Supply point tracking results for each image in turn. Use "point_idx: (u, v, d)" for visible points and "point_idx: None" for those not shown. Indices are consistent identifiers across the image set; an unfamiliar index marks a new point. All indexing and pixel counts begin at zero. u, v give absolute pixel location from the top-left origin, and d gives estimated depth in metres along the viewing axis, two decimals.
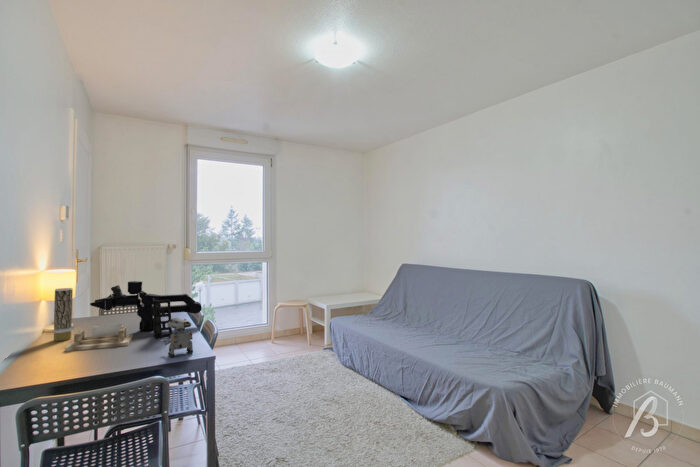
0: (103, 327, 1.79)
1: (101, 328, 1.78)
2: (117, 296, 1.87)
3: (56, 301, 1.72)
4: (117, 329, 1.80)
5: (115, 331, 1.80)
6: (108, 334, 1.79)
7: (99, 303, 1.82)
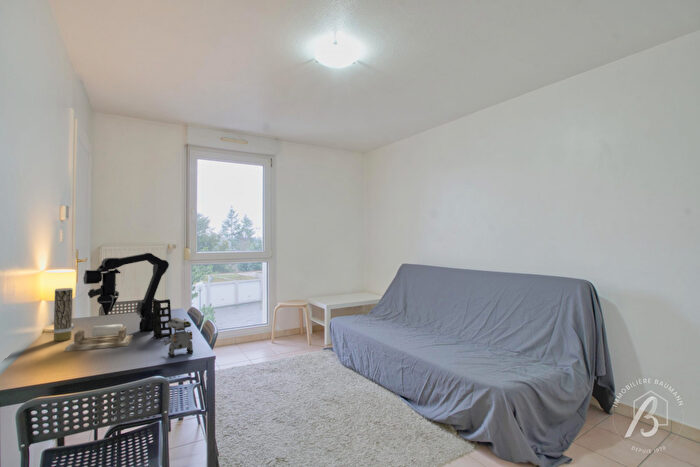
0: (103, 327, 1.79)
1: (101, 328, 1.78)
2: (100, 291, 1.78)
3: (56, 301, 1.72)
4: (117, 328, 1.81)
5: (115, 331, 1.80)
6: (108, 334, 1.79)
7: (105, 307, 1.76)
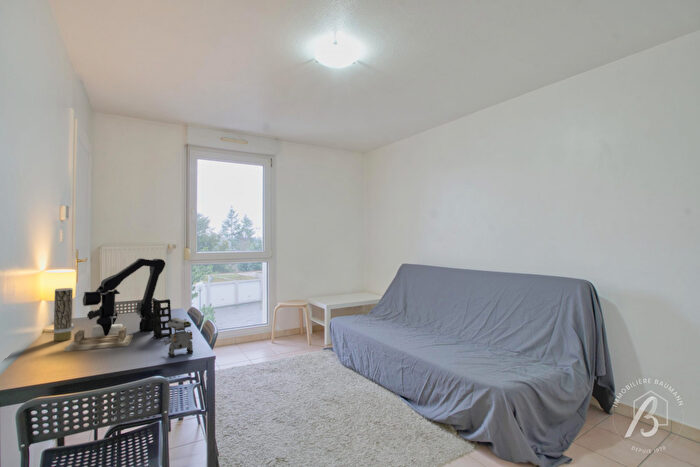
0: None
1: (101, 328, 1.78)
2: (99, 313, 1.77)
3: (56, 301, 1.72)
4: (117, 328, 1.80)
5: (115, 331, 1.80)
6: (108, 334, 1.79)
7: (105, 328, 1.77)
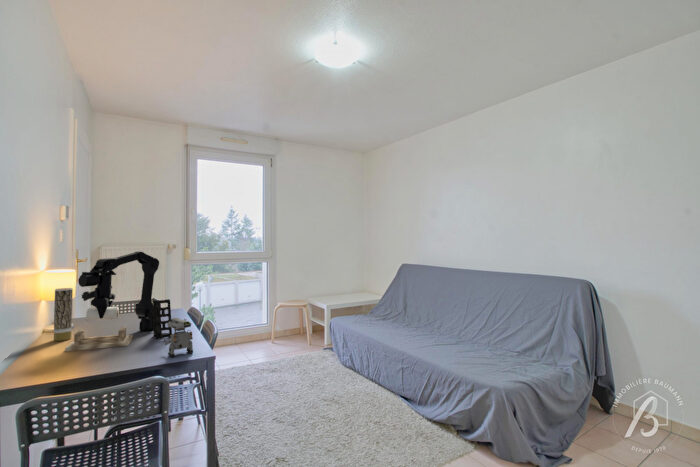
0: None
1: (96, 310, 1.70)
2: (95, 294, 1.69)
3: (56, 301, 1.72)
4: (112, 311, 1.72)
5: (111, 314, 1.71)
6: (103, 316, 1.70)
7: (100, 310, 1.69)
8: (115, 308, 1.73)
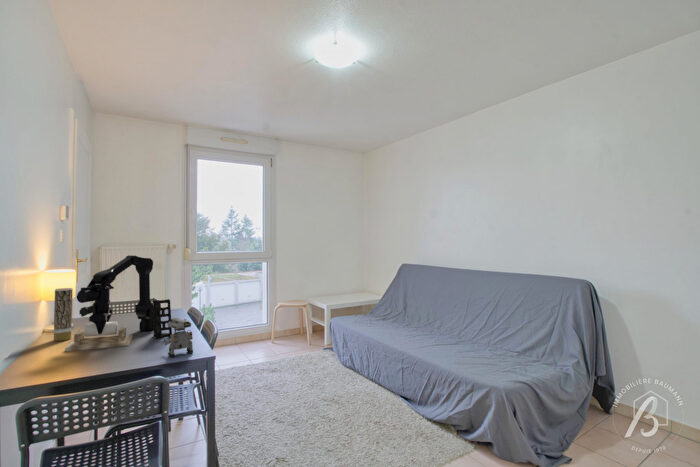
0: None
1: (94, 325, 1.66)
2: (93, 309, 1.65)
3: (56, 301, 1.72)
4: (111, 326, 1.68)
5: (110, 329, 1.67)
6: (102, 332, 1.66)
7: (99, 325, 1.65)
8: (114, 323, 1.69)
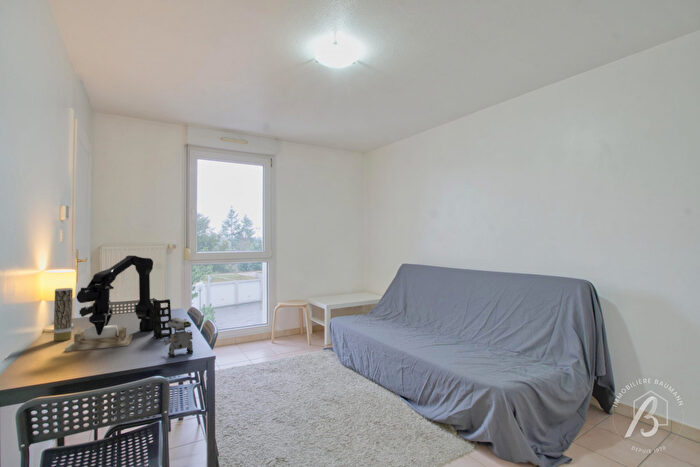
0: None
1: (94, 329, 1.66)
2: (93, 309, 1.65)
3: (56, 301, 1.72)
4: (111, 330, 1.68)
5: (110, 333, 1.67)
6: (102, 336, 1.66)
7: (98, 326, 1.63)
8: (114, 327, 1.69)
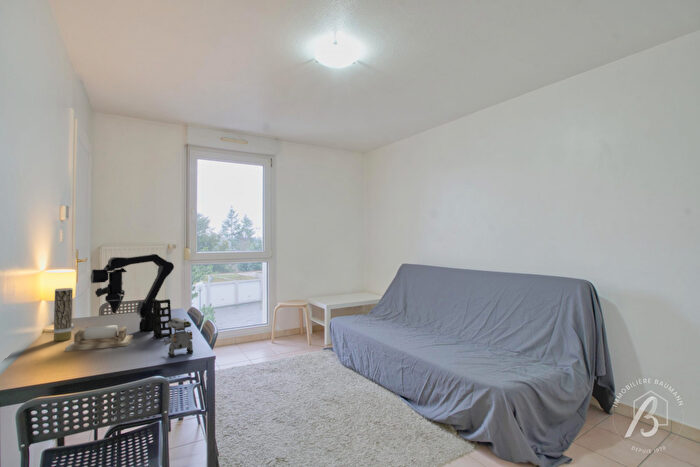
0: (96, 328, 1.66)
1: (94, 329, 1.66)
2: (107, 290, 1.80)
3: (56, 301, 1.72)
4: (111, 330, 1.68)
5: (110, 333, 1.67)
6: (102, 336, 1.66)
7: (113, 305, 1.79)
8: (114, 327, 1.69)
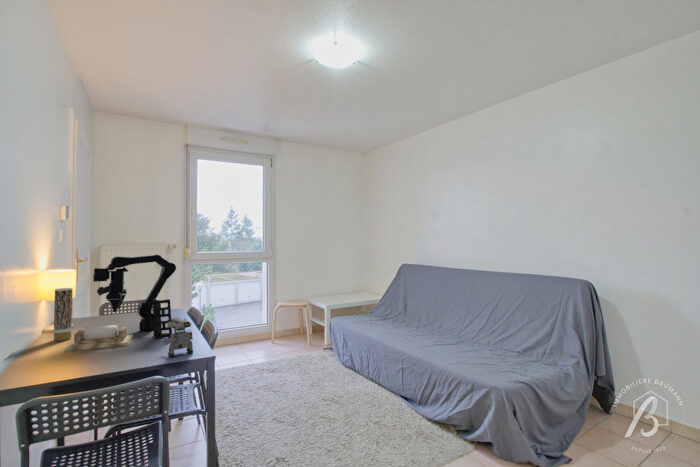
0: (96, 328, 1.66)
1: (95, 329, 1.66)
2: (109, 289, 1.83)
3: (56, 301, 1.72)
4: (111, 330, 1.68)
5: (110, 333, 1.67)
6: (102, 336, 1.66)
7: (114, 304, 1.81)
8: (114, 327, 1.69)
